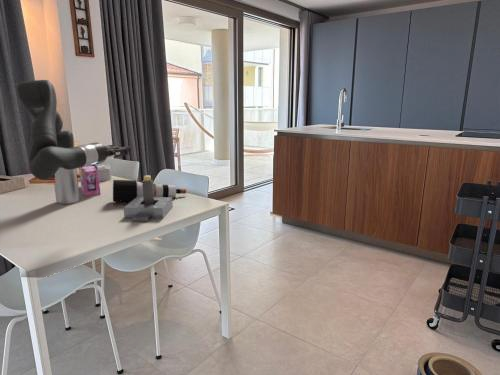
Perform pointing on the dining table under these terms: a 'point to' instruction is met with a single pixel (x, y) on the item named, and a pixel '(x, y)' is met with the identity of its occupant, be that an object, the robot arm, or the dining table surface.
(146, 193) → the grey bottle
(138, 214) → the housing
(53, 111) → the robot arm
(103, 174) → the lumpy-topped squat cylinder
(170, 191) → the banded tapered cylinder
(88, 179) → the gum box
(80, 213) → the dining table surface
